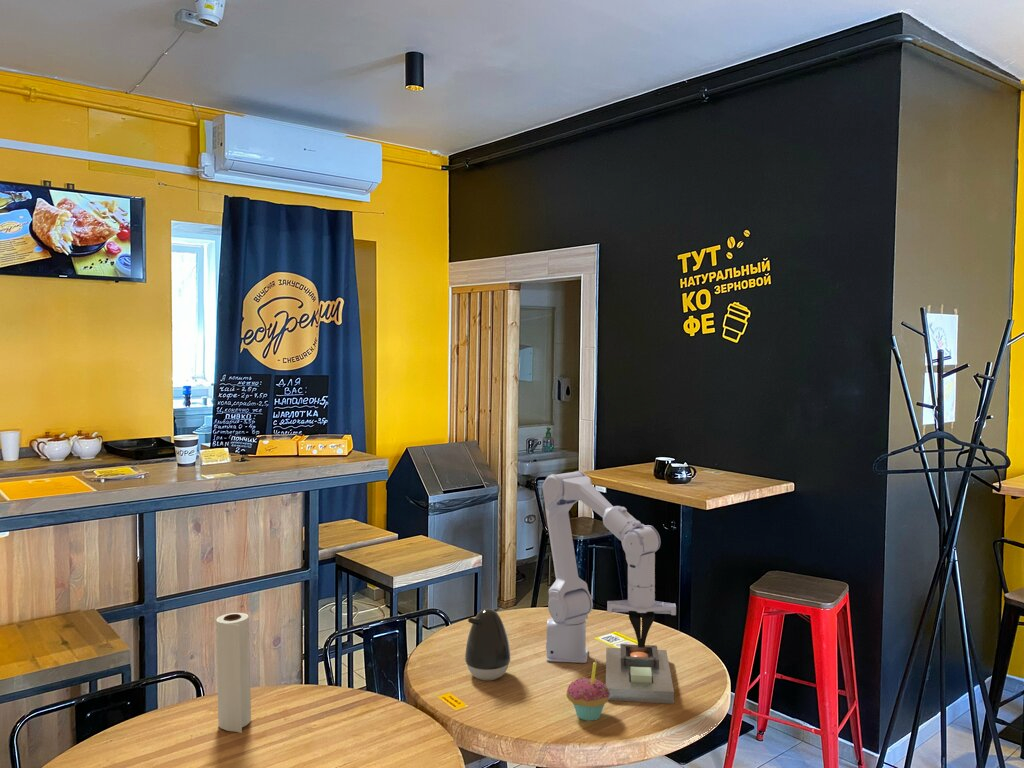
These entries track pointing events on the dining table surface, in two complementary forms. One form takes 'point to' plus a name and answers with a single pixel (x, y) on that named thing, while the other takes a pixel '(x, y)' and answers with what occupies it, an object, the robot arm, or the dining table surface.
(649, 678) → the pale green block
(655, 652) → the control box
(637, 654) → the button
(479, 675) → the dark grey egg-shaped figure
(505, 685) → the dining table surface
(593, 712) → the cupcake
